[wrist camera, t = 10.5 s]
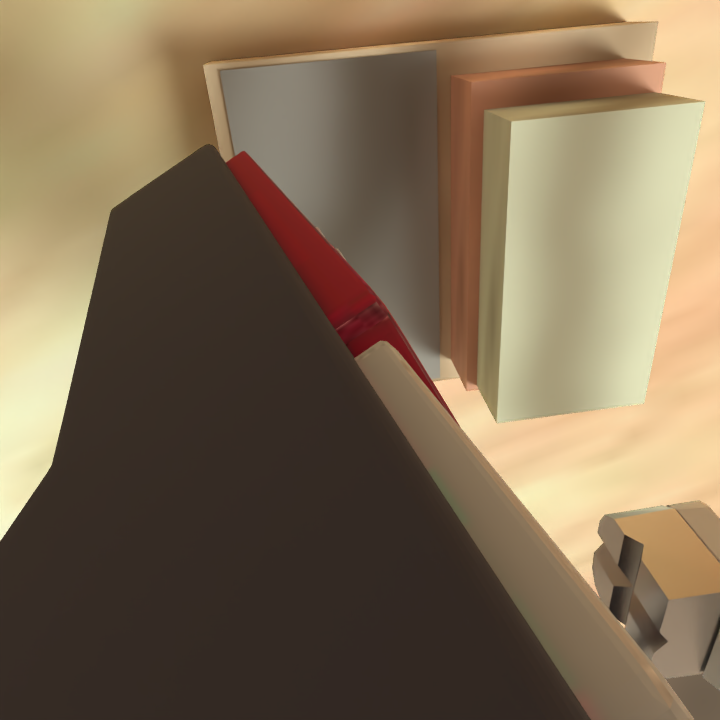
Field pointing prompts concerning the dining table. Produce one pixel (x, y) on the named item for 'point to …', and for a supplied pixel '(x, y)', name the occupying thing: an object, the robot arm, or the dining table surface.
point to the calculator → (281, 504)
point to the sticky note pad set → (488, 196)
